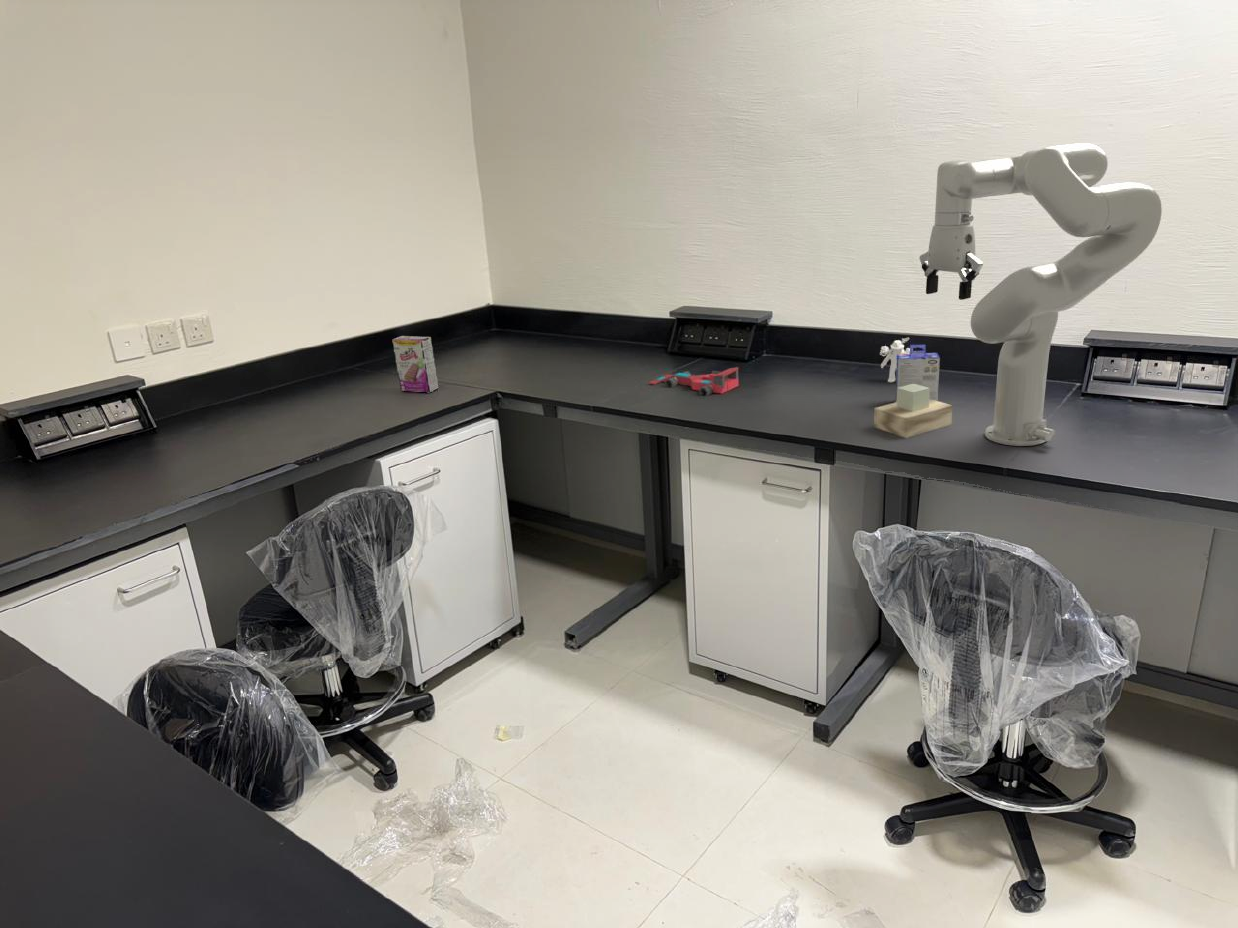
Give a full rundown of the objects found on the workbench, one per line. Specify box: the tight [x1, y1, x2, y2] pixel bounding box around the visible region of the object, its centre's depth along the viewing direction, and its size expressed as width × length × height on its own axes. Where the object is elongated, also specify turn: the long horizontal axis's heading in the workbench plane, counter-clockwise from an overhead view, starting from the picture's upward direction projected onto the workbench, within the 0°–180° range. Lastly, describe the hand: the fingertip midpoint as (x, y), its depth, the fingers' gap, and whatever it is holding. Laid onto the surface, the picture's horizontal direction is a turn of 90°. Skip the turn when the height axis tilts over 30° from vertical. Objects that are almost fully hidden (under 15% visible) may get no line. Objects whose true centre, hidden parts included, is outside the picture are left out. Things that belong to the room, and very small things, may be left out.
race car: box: [647, 366, 739, 397], centre depth 247 cm, size 14×6×25 cm
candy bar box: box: [391, 335, 440, 392], centre depth 263 cm, size 11×5×16 cm, turn 65°
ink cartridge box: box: [894, 344, 941, 403], centre depth 215 cm, size 10×6×14 cm, turn 78°
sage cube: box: [897, 384, 930, 412], centre depth 200 cm, size 5×5×4 cm
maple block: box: [873, 399, 953, 439], centre depth 202 cm, size 10×14×5 cm
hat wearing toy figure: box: [879, 336, 914, 383], centre depth 234 cm, size 9×4×12 cm, turn 54°
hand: (947, 296), depth 202 cm, fingers open, 9 cm apart
